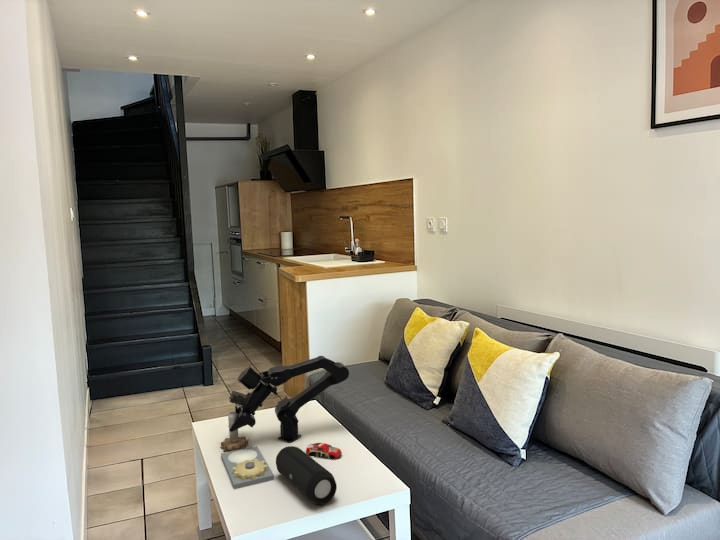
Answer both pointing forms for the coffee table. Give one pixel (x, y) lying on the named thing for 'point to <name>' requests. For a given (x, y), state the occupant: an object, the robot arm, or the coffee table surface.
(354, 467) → the coffee table surface
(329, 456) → the race car
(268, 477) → the gear board
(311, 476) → the portable speaker
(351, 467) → the coffee table surface
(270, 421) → the coffee table surface
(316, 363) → the robot arm
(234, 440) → the walnut gear
